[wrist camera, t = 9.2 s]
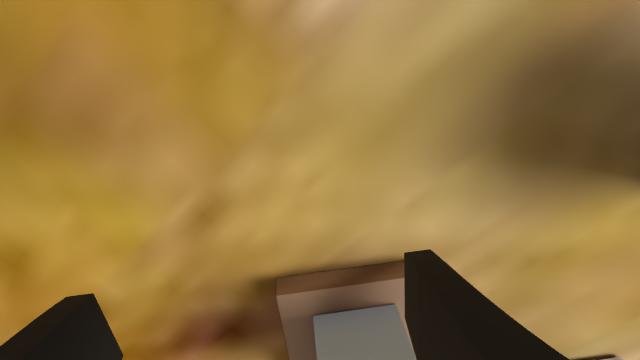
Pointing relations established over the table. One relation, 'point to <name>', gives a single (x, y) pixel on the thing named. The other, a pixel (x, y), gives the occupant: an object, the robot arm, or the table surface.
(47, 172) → the table surface
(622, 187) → the table surface
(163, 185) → the table surface
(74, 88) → the table surface
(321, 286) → the slab
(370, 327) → the block
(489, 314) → the robot arm
